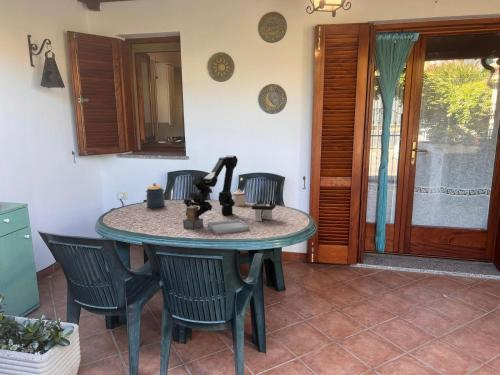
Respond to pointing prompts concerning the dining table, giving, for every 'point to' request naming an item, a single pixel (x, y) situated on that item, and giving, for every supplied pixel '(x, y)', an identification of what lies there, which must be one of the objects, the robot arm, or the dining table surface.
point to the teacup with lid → (239, 198)
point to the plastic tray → (228, 226)
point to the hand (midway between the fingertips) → (191, 216)
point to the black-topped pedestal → (263, 210)
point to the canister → (155, 196)
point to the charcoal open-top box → (193, 223)
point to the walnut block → (192, 213)
